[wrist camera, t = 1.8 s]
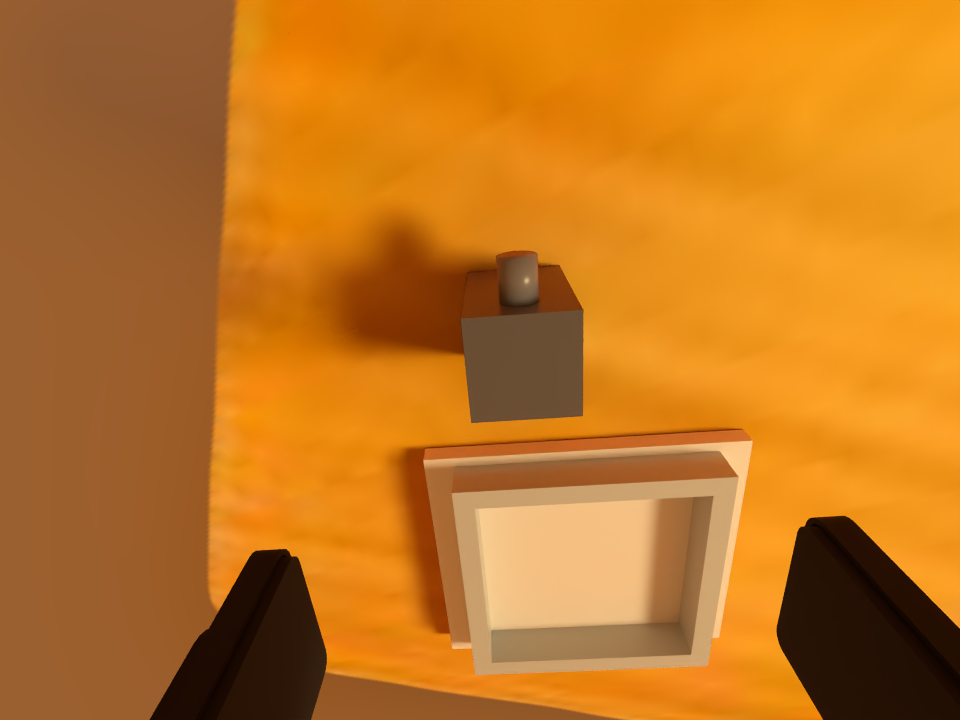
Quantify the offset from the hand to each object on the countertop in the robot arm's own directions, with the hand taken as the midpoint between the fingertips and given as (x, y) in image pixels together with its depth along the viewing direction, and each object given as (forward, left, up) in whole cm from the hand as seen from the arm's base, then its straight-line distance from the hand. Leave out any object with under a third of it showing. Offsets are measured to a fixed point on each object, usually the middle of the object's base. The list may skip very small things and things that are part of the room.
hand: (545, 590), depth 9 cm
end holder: (+13, +3, -15) cm, 20 cm away
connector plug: (-1, 0, -15) cm, 15 cm away
